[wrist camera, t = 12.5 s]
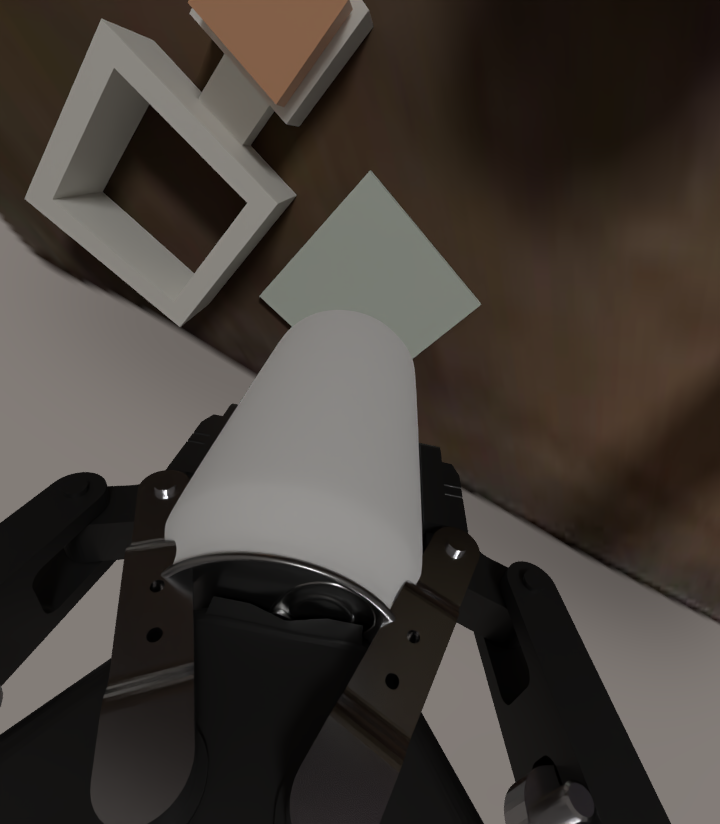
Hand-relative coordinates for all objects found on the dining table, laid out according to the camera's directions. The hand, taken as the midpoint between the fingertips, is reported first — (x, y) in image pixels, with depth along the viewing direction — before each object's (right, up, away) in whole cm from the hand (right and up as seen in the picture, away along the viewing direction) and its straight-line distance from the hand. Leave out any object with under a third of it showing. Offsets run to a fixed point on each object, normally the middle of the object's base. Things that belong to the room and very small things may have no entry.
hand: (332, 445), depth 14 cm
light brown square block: (-3, +21, +7) cm, 22 cm away
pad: (+2, +9, +14) cm, 17 cm away
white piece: (-7, +18, +9) cm, 21 cm away
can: (0, +3, +4) cm, 5 cm away
